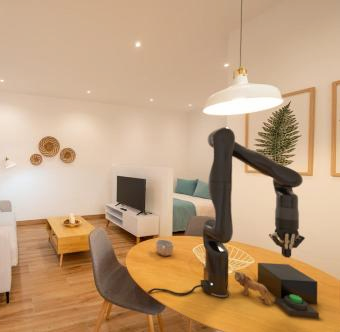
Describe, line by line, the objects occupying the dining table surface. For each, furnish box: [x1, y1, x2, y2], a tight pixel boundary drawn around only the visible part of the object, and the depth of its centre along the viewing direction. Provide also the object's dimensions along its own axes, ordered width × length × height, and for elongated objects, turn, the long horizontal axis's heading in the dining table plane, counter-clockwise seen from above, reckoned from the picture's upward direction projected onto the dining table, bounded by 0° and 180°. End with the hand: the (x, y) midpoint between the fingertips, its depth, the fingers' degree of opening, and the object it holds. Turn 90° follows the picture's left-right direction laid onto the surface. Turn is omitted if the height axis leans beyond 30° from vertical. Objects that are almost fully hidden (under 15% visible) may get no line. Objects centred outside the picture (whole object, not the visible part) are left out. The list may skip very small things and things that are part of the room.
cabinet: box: [257, 262, 318, 305], centre depth 98 cm, size 16×14×10 cm
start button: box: [290, 294, 302, 304], centre depth 86 cm, size 4×4×2 cm
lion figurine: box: [234, 270, 276, 305], centre depth 95 cm, size 15×5×9 cm, turn 39°
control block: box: [274, 295, 320, 319], centre depth 86 cm, size 10×8×4 cm
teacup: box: [155, 238, 175, 257], centre depth 138 cm, size 14×11×8 cm
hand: (286, 256), depth 92 cm, fingers closed
